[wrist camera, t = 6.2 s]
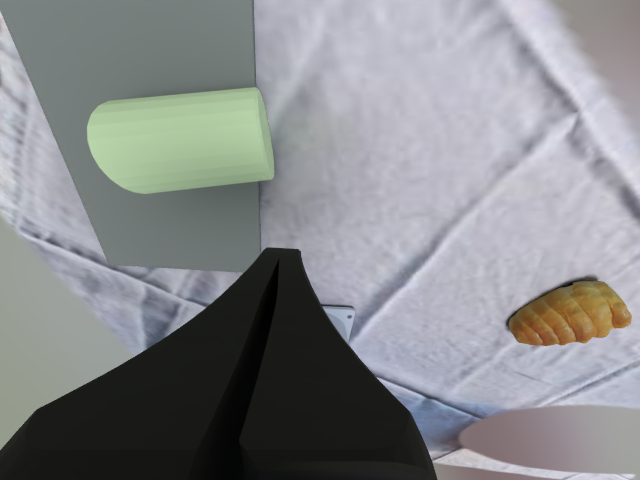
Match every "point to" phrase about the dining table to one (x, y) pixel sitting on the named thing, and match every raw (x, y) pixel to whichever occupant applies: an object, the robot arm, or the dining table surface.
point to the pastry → (570, 315)
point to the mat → (139, 82)
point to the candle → (183, 140)
